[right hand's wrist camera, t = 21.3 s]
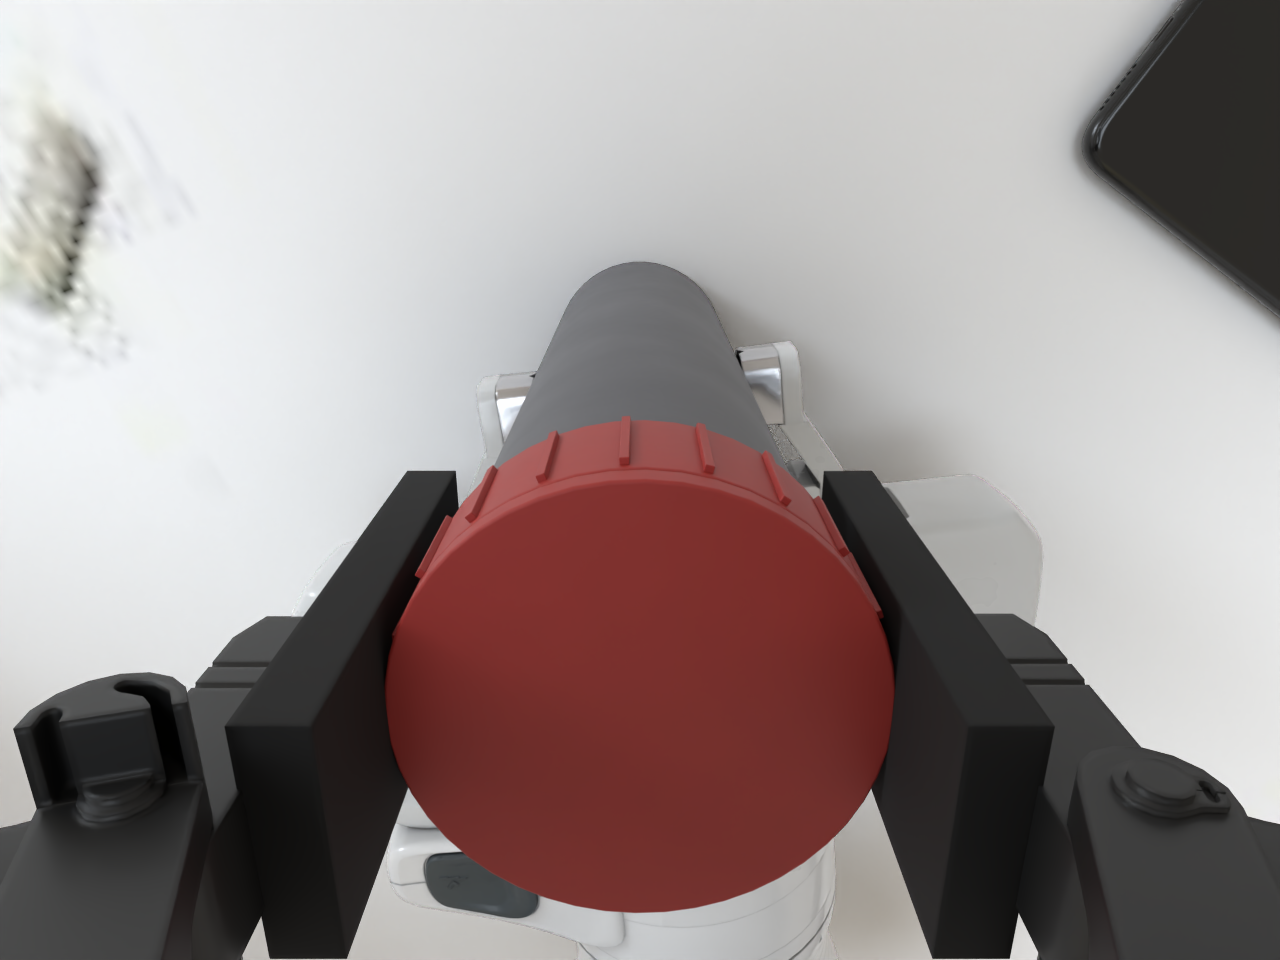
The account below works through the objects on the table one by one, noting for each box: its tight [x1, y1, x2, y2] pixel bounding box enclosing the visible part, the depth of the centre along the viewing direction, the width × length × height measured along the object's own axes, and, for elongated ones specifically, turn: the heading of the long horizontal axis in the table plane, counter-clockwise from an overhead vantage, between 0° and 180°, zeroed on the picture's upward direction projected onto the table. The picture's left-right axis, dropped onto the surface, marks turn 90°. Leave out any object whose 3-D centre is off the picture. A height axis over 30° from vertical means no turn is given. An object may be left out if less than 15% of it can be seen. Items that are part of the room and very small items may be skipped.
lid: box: [385, 416, 895, 913], centre depth 11 cm, size 6×6×2 cm
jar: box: [494, 262, 790, 474], centre depth 20 cm, size 5×5×20 cm
